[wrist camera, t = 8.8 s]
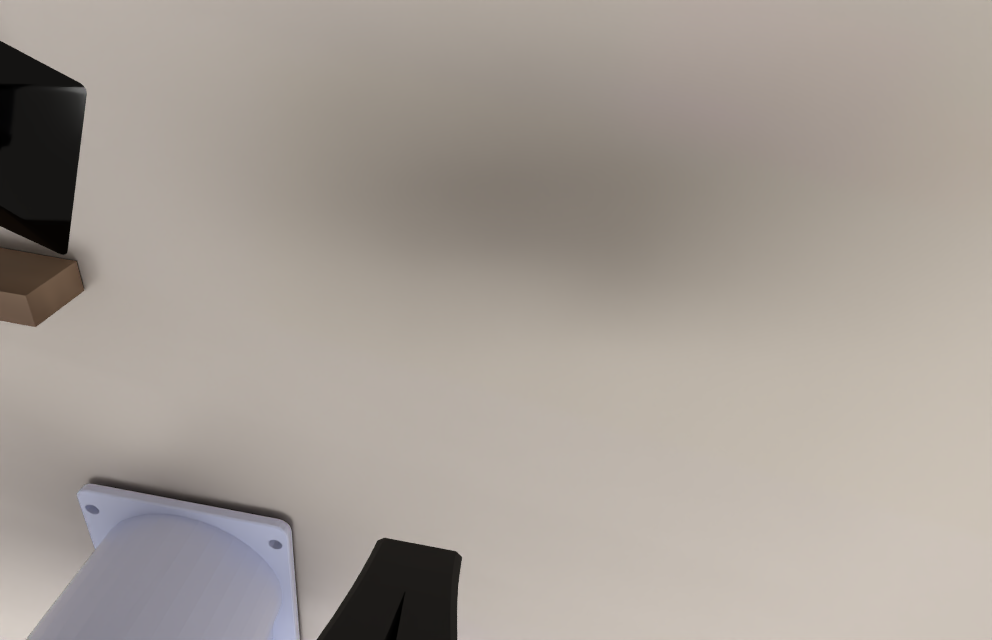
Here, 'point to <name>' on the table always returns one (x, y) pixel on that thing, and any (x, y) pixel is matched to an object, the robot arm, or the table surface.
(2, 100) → the black bevelled base
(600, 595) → the table surface
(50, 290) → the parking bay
